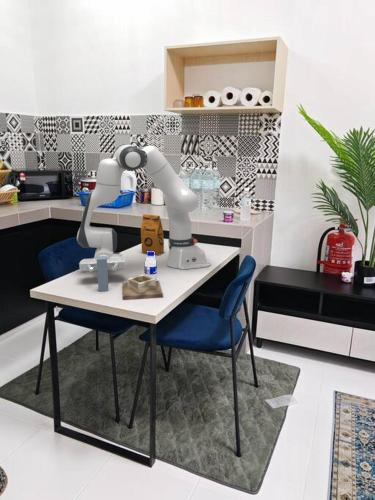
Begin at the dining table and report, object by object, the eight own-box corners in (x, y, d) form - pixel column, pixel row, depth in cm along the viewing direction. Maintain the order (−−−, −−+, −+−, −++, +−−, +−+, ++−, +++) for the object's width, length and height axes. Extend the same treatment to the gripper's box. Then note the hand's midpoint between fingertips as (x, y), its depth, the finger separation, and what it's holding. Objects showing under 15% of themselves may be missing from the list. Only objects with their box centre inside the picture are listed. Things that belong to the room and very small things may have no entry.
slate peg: (108, 287, 170) (106, 256, 166) (108, 290, 166) (106, 259, 162) (98, 288, 169) (96, 256, 165) (98, 291, 165) (96, 259, 161)
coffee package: (157, 256, 216) (156, 217, 210) (139, 253, 222) (137, 215, 216) (167, 252, 224) (166, 214, 218) (149, 249, 230) (148, 212, 224)
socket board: (158, 283, 174) (158, 272, 173) (162, 297, 159) (162, 284, 157) (122, 285, 171) (121, 274, 170) (122, 299, 156) (122, 286, 155)
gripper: (79, 254, 178) (76, 263, 165) (125, 252, 182) (125, 261, 169) (80, 268, 180) (77, 277, 167) (125, 265, 183) (126, 275, 170)
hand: (102, 269), depth 168 cm, fingers open, 8 cm apart
